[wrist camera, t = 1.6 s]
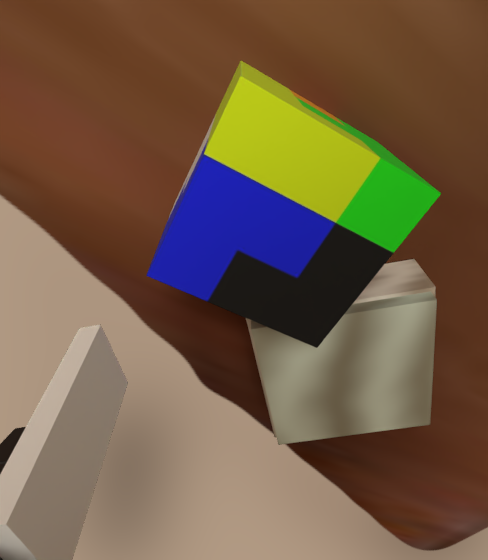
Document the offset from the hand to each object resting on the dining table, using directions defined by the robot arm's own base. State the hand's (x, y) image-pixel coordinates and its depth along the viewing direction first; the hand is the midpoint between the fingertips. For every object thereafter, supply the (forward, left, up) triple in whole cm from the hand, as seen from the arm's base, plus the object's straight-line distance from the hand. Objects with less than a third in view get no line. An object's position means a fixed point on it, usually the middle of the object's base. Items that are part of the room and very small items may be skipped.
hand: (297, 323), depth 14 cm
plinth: (-3, +15, -16) cm, 22 cm away
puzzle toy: (0, 0, -17) cm, 17 cm away
